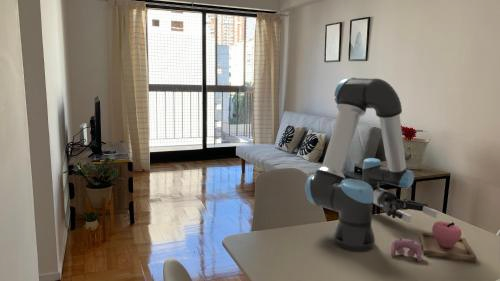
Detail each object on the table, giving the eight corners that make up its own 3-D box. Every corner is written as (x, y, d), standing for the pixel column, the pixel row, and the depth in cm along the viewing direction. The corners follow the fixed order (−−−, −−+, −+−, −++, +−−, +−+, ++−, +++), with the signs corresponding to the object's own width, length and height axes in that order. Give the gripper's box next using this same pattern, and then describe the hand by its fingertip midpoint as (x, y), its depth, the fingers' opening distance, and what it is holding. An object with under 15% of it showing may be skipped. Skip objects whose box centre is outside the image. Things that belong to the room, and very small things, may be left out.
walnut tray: (423, 255, 133) (424, 250, 133) (418, 237, 148) (419, 232, 148) (475, 262, 128) (475, 257, 128) (464, 243, 143) (465, 238, 143)
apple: (456, 243, 141) (459, 217, 139) (463, 253, 133) (466, 226, 131) (428, 240, 143) (430, 215, 142) (433, 250, 135) (436, 223, 133)
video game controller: (420, 262, 131) (422, 242, 133) (421, 262, 127) (422, 241, 129) (390, 256, 135) (392, 237, 137) (390, 256, 131) (392, 236, 133)
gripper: (406, 204, 170) (446, 222, 150) (360, 210, 160) (397, 230, 141) (407, 188, 168) (448, 204, 149) (362, 194, 159) (399, 211, 140)
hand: (423, 217), depth 145 cm, fingers open, 13 cm apart
